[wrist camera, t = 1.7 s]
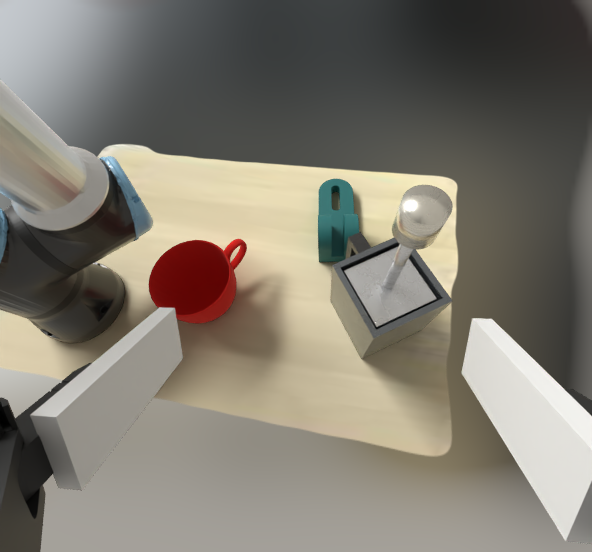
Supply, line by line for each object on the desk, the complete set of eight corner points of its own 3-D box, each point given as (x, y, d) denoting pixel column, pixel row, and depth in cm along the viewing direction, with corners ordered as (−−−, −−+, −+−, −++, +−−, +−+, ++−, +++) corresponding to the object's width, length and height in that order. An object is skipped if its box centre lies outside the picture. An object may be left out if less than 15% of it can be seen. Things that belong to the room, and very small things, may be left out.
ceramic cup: (276, 282, 57) (267, 256, 48) (204, 349, 53) (179, 334, 44) (231, 241, 61) (215, 211, 52) (162, 300, 57) (132, 277, 48)
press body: (321, 283, 56) (320, 243, 43) (375, 259, 57) (389, 213, 44) (361, 359, 50) (373, 338, 37) (420, 330, 51) (452, 301, 38)
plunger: (343, 272, 42) (354, 187, 27) (398, 248, 43) (440, 151, 28) (375, 328, 39) (410, 266, 23) (435, 300, 40) (506, 222, 24)
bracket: (355, 262, 57) (359, 239, 50) (319, 262, 58) (318, 240, 51) (351, 185, 65) (354, 157, 58) (318, 186, 65) (318, 158, 58)
